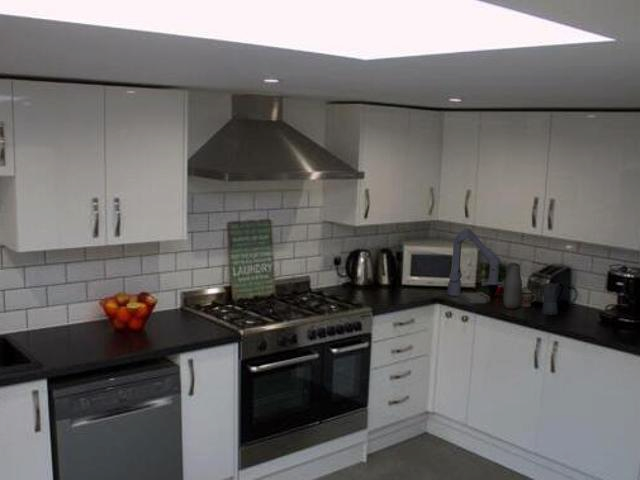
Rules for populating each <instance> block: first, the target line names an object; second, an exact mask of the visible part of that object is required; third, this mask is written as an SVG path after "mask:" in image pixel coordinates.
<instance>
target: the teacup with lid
mask: <svg viewBox="0 0 640 480" xmlns="http://www.w3.org/2000/svg"><path fill="white" fill-rule="evenodd" d="M533 296H534V299H533V300H532V297H533ZM535 301H537V295H536V294H534V293H533V291H532V290H530V289H529V288H528V287H527V286H522V291H521V302H520V305H519V307H523V308H530V307H531V306H532V302H533V303H535Z"/></svg>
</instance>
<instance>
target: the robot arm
mask: <svg viewBox="0 0 640 480" xmlns="http://www.w3.org/2000/svg"><path fill="white" fill-rule="evenodd" d="M466 240H467V241H470V242H473V244H475V246H477V248H479V250H480V251H481V255H482V256H483V257H484V258H485V260H486V261H487V262H488V264H489V274H488V277H489V278H488V281H484V282H483V281H481V286H483V287H484V286H487V287H488V290H489V292H490V293H489V294H490V298H494V297H495V295H496V292H497V290H498V289H499V286H501V287H502V286H503V287H504V281H499V272H500V265H499V264H500V263H501V259H500V258H499V257H498V256H497V254H495V253H494V252H493V251H492V249H491V248H489V247H486V246H485V244H484V243H483V242H482V241H481V239H480V238H478V236H477V235H476V234H475V232H473V231H472V229H470V228H465V229H463V230H460V231H459V232H458V234H456V236H455V237H454V239H453V247H452V262H451V263H452V265H451V269H450V274H449V277H448V278H449V281H448V283H447V291H446V294H447V295H449V296H451V297H453V296H454V297H455V296H460V297H461V287H462V286H461V285H462V280H461V279H462V278H463V277H462V276H463V273H462V269H461V260H462V259H461V257H462V255H461V254H462V243H464V241H466Z"/></svg>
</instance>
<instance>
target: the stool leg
mask: <svg viewBox="0 0 640 480" xmlns="http://www.w3.org/2000/svg"><path fill="white" fill-rule="evenodd" d="M476 293H477V294H479V295H480V296H482V297H484V298H485V299H486V303H487V302H488V303H489V302H491V295H490V296H489V295H488V294H487V293H484V292H483V291H479V290H478V291H476Z"/></svg>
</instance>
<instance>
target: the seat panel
mask: <svg viewBox="0 0 640 480" xmlns="http://www.w3.org/2000/svg"><path fill="white" fill-rule="evenodd" d="M460 294H461V296H460V297H461V298H462V299H464V300H465V301H466V302H469V303H470V304H486V303H487V302H486V299H485V298H484V297H482V296H480V295H479V294H477V292H460Z"/></svg>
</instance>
